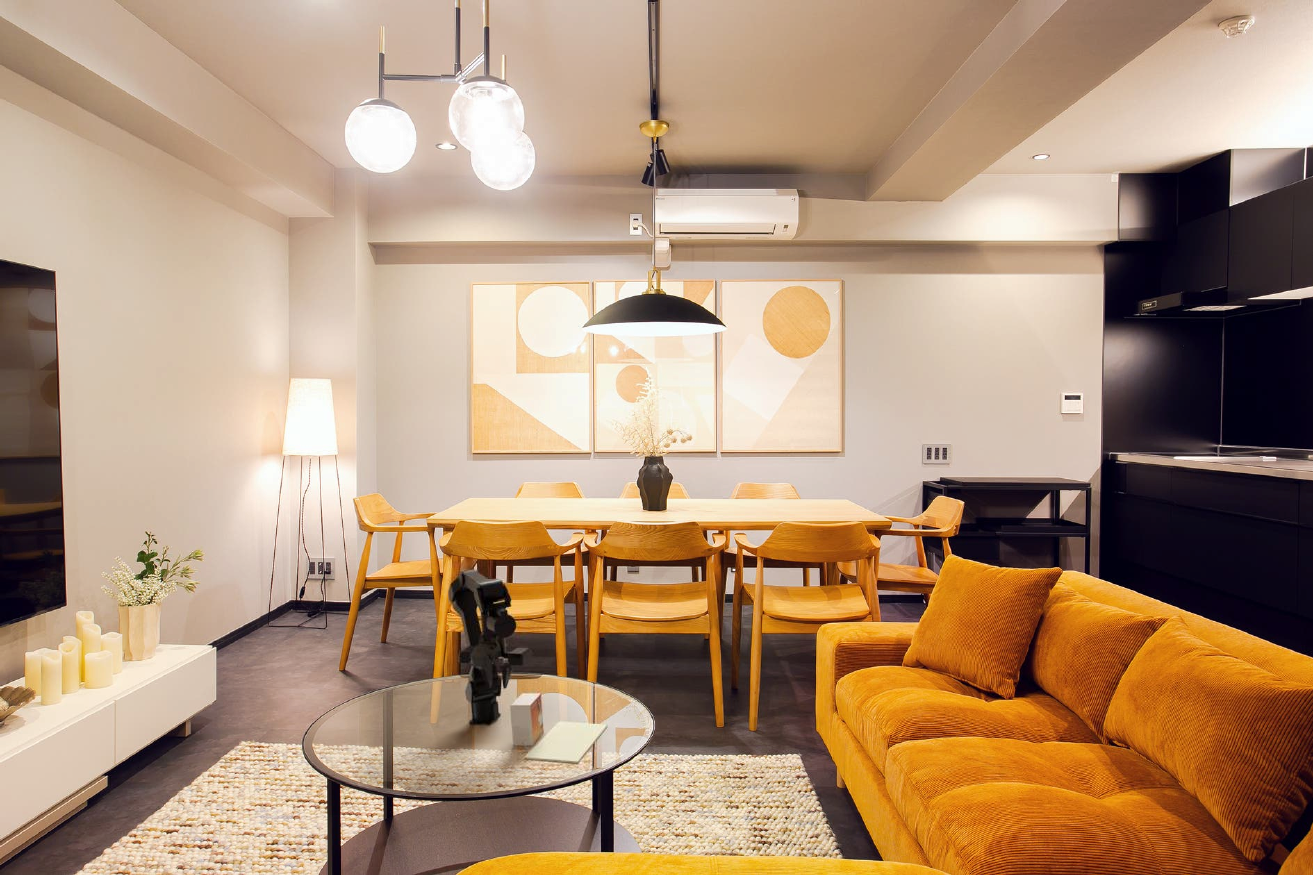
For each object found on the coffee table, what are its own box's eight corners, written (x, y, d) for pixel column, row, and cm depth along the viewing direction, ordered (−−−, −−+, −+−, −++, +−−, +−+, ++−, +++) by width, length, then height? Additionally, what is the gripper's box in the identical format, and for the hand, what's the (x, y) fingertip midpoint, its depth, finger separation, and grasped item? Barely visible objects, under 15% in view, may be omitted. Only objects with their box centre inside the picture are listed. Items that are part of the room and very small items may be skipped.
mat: (524, 758, 173) (524, 756, 173) (559, 722, 193) (559, 721, 193) (577, 763, 169) (577, 761, 169) (607, 726, 189) (607, 724, 189)
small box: (533, 746, 180) (530, 705, 179) (512, 745, 181) (509, 705, 181) (544, 732, 188) (541, 692, 187) (524, 731, 189) (521, 692, 188)
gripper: (444, 637, 181) (449, 698, 181) (510, 639, 175) (514, 702, 176) (467, 624, 191) (472, 681, 192) (530, 625, 186) (535, 684, 186)
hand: (497, 687), depth 186 cm, fingers open, 4 cm apart
